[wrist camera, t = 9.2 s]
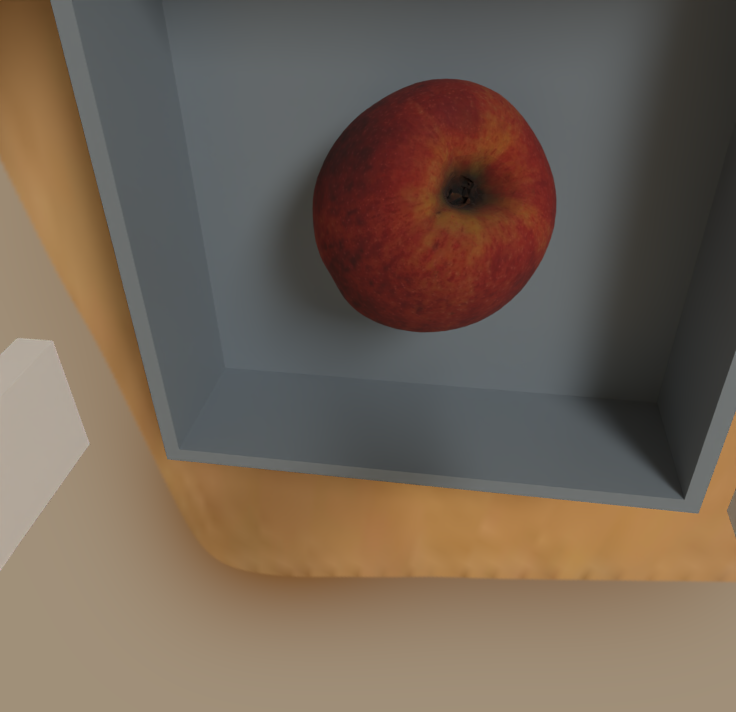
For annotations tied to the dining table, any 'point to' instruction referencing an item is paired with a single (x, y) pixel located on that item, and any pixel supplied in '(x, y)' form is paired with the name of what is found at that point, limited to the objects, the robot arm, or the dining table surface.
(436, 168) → the apple
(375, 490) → the dining table surface
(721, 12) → the tub
